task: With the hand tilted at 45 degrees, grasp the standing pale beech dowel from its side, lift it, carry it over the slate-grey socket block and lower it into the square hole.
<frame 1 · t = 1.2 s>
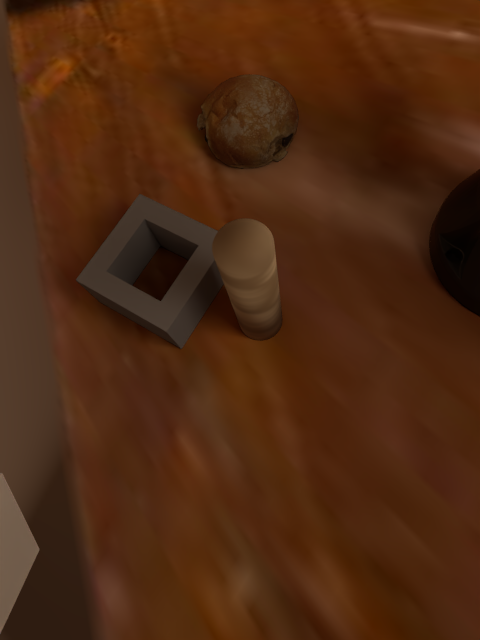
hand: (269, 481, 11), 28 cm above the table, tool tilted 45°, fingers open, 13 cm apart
bread roll: (248, 136, 50), on the table
socket: (167, 282, 45), on the table
dowel: (260, 319, 42), on the table
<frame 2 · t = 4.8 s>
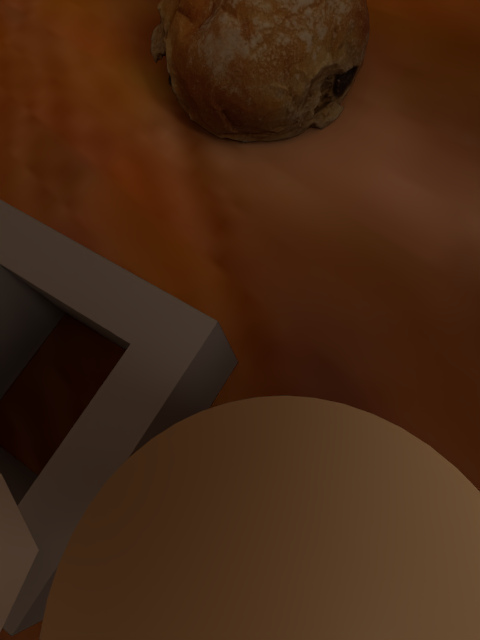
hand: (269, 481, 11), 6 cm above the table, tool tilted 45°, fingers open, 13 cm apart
bread roll: (259, 78, 24), on the table
socket: (74, 404, 19), on the table
dowel: (295, 522, 17), on the table
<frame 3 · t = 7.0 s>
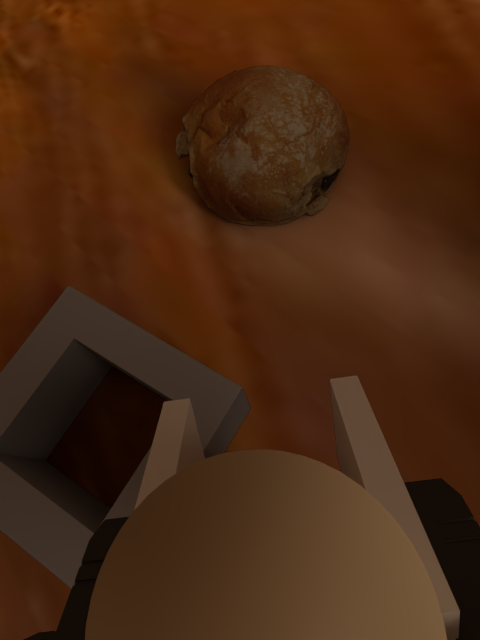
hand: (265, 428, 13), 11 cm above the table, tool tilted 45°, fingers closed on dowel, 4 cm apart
bread roll: (261, 169, 30), on the table
socket: (122, 440, 24), on the table
dowel: (289, 549, 18), point 4 cm above the table, touching gripper
when the fingers open (7 cm above the table, at t = 11.4 s): dowel stays where it is, resting in socket.
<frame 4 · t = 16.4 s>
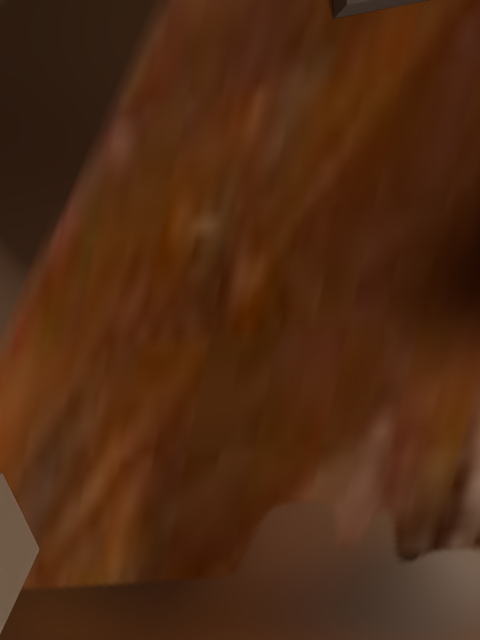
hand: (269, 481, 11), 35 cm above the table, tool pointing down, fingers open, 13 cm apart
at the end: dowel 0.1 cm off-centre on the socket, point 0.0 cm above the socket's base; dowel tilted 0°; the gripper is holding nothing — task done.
